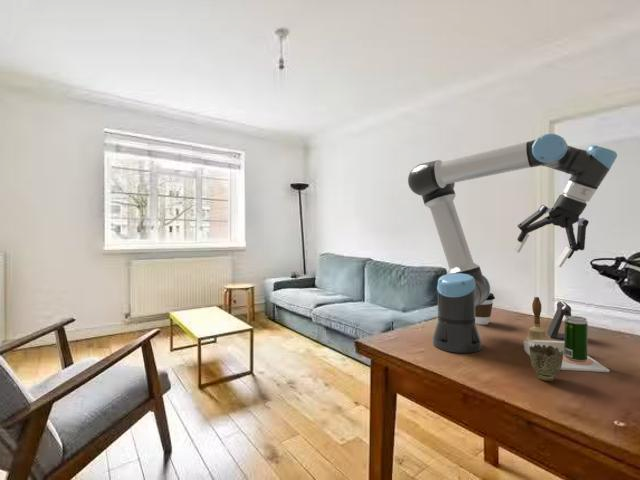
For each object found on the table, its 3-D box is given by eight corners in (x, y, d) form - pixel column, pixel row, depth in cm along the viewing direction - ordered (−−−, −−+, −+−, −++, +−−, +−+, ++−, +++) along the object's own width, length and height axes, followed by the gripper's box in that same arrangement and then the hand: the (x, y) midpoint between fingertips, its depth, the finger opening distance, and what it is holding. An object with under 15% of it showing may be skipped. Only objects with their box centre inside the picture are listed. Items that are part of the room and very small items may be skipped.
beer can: (579, 364, 96) (580, 321, 96) (560, 357, 101) (560, 317, 101) (591, 360, 98) (592, 319, 98) (571, 354, 103) (572, 314, 103)
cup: (523, 373, 93) (523, 343, 93) (551, 373, 93) (551, 343, 93) (539, 385, 86) (539, 354, 86) (569, 385, 86) (570, 354, 85)
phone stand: (576, 335, 122) (577, 302, 122) (581, 341, 117) (581, 306, 116) (546, 333, 126) (546, 300, 126) (550, 338, 121) (550, 304, 120)
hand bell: (521, 346, 113) (521, 298, 113) (524, 339, 120) (524, 293, 119) (551, 351, 108) (551, 301, 108) (553, 343, 115) (553, 296, 114)
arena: (543, 368, 96) (543, 356, 96) (524, 350, 110) (524, 339, 109) (609, 372, 93) (609, 359, 92) (581, 353, 106) (581, 341, 106)
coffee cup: (480, 328, 134) (480, 297, 134) (459, 321, 144) (459, 292, 144) (501, 324, 138) (501, 294, 138) (479, 317, 148) (479, 290, 148)
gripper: (537, 187, 102) (502, 249, 111) (623, 215, 100) (581, 276, 108) (529, 182, 109) (497, 241, 118) (609, 208, 107) (570, 266, 115)
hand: (537, 258), depth 113 cm, fingers open, 13 cm apart
